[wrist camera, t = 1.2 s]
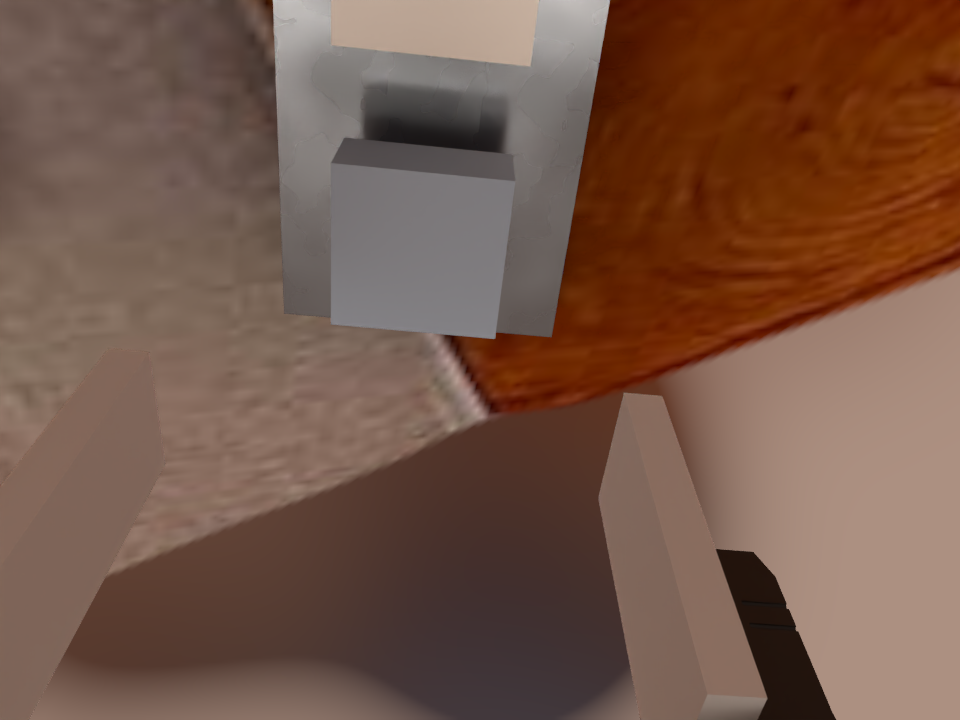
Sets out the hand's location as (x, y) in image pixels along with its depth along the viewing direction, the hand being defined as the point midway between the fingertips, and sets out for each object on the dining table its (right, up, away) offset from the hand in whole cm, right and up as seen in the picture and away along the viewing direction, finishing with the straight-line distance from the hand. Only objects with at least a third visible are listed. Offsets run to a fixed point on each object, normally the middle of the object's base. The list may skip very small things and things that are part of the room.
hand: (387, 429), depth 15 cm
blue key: (0, +7, +11) cm, 13 cm away
